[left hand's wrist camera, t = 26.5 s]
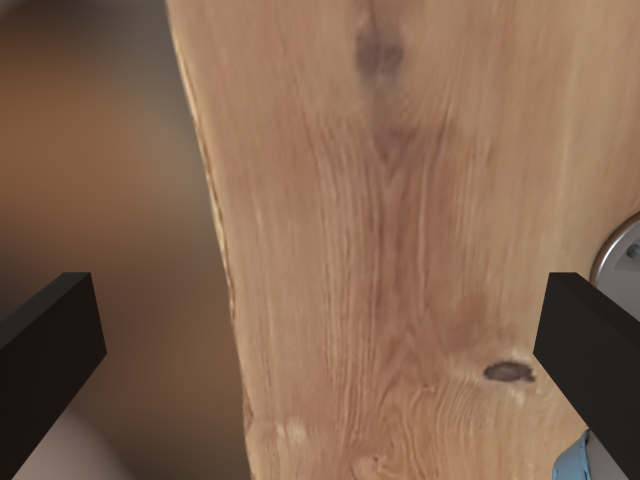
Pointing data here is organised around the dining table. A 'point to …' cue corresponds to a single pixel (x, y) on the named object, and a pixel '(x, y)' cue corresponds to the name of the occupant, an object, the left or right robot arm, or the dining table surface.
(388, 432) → the dining table surface
